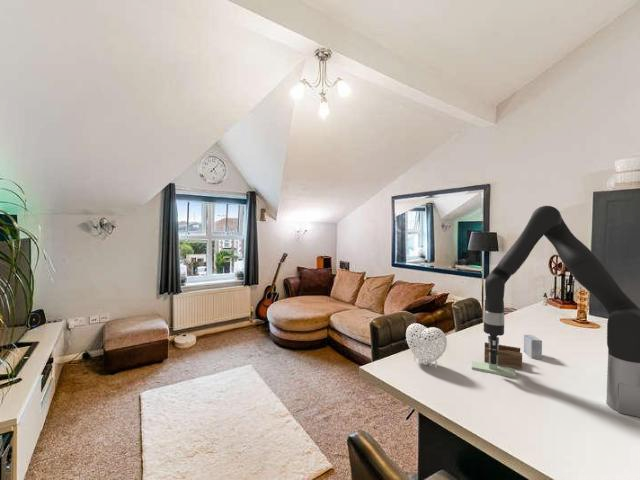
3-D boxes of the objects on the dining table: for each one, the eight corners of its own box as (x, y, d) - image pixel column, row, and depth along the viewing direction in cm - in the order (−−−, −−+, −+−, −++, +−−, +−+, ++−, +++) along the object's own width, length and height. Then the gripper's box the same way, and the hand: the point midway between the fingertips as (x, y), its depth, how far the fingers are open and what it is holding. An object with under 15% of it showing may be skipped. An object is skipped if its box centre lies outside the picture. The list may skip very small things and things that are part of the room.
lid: (516, 379, 120) (516, 360, 119) (471, 370, 127) (471, 352, 127) (514, 372, 125) (515, 355, 125) (472, 364, 133) (472, 347, 133)
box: (521, 368, 128) (522, 354, 127) (484, 361, 134) (484, 348, 134) (519, 361, 136) (520, 347, 135) (484, 354, 142) (484, 341, 142)
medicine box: (542, 359, 138) (542, 340, 137) (531, 358, 138) (531, 340, 138) (533, 352, 145) (534, 334, 145) (523, 351, 146) (523, 334, 146)
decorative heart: (400, 361, 134) (401, 323, 134) (412, 354, 142) (412, 318, 141) (440, 375, 122) (440, 333, 121) (450, 367, 129) (451, 327, 129)
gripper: (505, 328, 118) (504, 368, 118) (503, 318, 130) (502, 355, 131) (483, 325, 121) (482, 364, 122) (483, 316, 134) (482, 352, 134)
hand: (493, 359), depth 126 cm, fingers open, 8 cm apart
